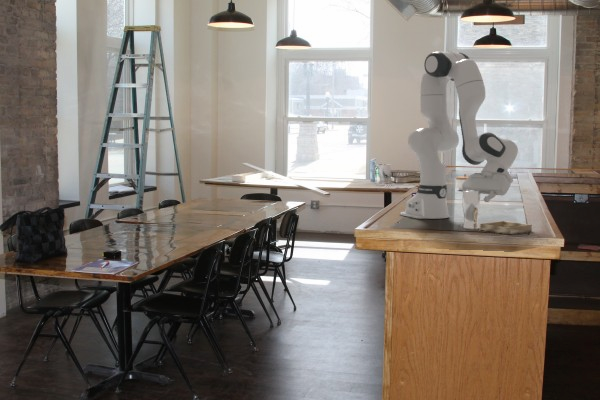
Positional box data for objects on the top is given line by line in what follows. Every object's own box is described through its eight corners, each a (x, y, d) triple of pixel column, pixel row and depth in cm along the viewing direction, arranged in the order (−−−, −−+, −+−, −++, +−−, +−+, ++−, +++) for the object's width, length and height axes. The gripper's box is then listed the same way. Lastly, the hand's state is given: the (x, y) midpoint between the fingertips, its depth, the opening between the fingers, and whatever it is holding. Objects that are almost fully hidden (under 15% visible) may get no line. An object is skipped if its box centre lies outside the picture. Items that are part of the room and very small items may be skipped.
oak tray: (480, 230, 288) (480, 223, 288) (502, 227, 296) (503, 220, 296) (508, 235, 278) (509, 228, 277) (531, 231, 286) (531, 224, 285)
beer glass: (466, 229, 290) (467, 191, 289) (459, 227, 297) (459, 189, 296) (482, 229, 292) (483, 191, 290) (475, 226, 299) (476, 189, 297)
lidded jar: (472, 189, 447) (473, 173, 446) (475, 191, 437) (475, 175, 436) (454, 189, 449) (454, 173, 447) (456, 190, 438) (456, 175, 437)
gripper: (469, 167, 306) (452, 193, 301) (509, 170, 290) (493, 196, 285) (476, 178, 309) (459, 203, 304) (516, 181, 293) (500, 207, 288)
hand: (476, 200), depth 295 cm, fingers open, 8 cm apart
